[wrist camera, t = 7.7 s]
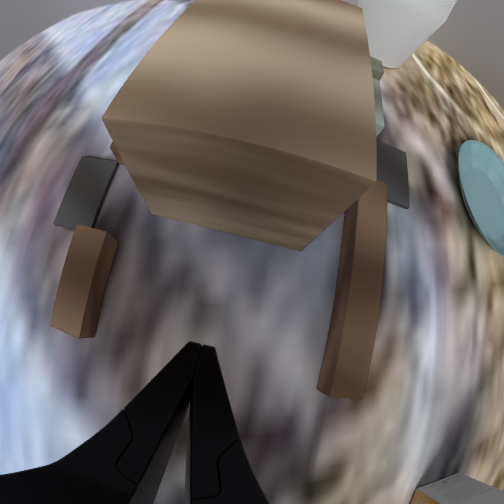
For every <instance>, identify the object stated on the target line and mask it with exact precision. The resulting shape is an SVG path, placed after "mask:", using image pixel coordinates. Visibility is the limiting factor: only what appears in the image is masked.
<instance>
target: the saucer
mask: <svg viewBox="0 0 504 504" xmlns="http://www.w3.org/2000/svg"><path fill="white" fill-rule="evenodd" d="M458 172H459V182H460V188H461V193H462V196H463V200H464V203H465V206H466V208H467V211H468V213H469V216H470V218H471V220H472V222H473V224H474V225H475V227H476V229H477V230H478V232H479V233H480V235H481V236H482V237H483V239H484V240H485V241H486V242H487V243H488V244H489V245H490V246H491V247H492V248H493V249H494V250H495V251H496V252H497V253H498V254H499V255H501V256H502V257H504V163H503V162H502V160H501V159H500V158H499V157H498V156H497V155H496V154H495V153H494V152H493V151H492V150H491V149H490V148H489V147H488V146H486V145H485V144H483V143H481V142H479V141H476V140H468V141H465V142H464V143H463V144H462V145H461V147H460V150H459V156H458Z"/></svg>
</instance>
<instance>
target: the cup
mask: <svg viewBox="0 0 504 504" xmlns="http://www.w3.org/2000/svg"><path fill="white" fill-rule="evenodd" d="M456 1H457V0H357V3H356V6H358V7H360V8H362V10H363V15H364V21H365V26H366V32H367V38H368V45H369V52H370V56H371V57H374V58H376V59H378V60H381V61H382V65H383V67H387V68H393V69H395V68H399V67H400V66H401V65H402V64H403V63H404V62H405V61H406V60H407V59H408V58H409V57H410V56H411V55H412V54H413V53H414V52H415V51H416V50H417V49H418V48H419V47H420V46H421V45H422V44H423V43H424V42H425V41H426V40H427V39H428V38H429V37H430V36H431V35H432V34H433V33H434V32H435V31H436V30H437V29H438V28H439V27H440V26H441V25H442V24H443V23H444V22H445V21H446V19H447V17H448V15H449V13H450V11H451V9H452V8H453V6H454V4H455V3H456Z"/></svg>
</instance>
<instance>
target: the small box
mask: <svg viewBox="0 0 504 504" xmlns="http://www.w3.org/2000/svg"><path fill="white" fill-rule="evenodd" d="M411 504H504V491H503V490H500V489H497V488H495V487H492V486H490V485H487V484H485V483H482V482H480V481H478V480H475V479H473V478H471V477H469V476H466V475H464V474H462V473H456V474H453V475H451V476H448V477H446V478H443V479H441V480H438V481H436V482H433V483H430V484H427V485H425V486H422V487H419V488H417V489H416V491H415V494H414V496H413V499H412V501H411Z"/></svg>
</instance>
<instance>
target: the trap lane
mask: <svg viewBox="0 0 504 504" xmlns="http://www.w3.org/2000/svg"><path fill="white" fill-rule="evenodd" d="M370 60H371V68H372V77H373V88H374V101H375V117H376V137H377V136H378V134H379V133H380V132H381V131H382V129H383V128H384V117H383V107H382V98H381V90H380V83H379V80H380V79H381V77H382V75H383V74H384V71H383V65H382V61H381V60H378V59H376V58H374V57H371V56H370ZM376 145H377V178H376V183H375V184H373V185H372V186H371V187H370V188H369V189H368V190H367V191H366V192H365V193H364V194H363V195H362V196H361V197H360V198H359V199H357V200H356V201H355V202H354V203H353V204H352V205H351V206H350V207H349V208H348V209H347V210H346V211H345V218H344V229H343V238H342V247H341V255H340V263H339V271H338V278H337V285H336V291H335V298H334V304H333V310H332V316H331V322H330V327H329V333H328V338H327V343H326V348H325V353H324V358H323V363H322V367H321V372H320V376H319V381H318V385H317V390H319V391H320V392H322V393H324V394H325V395H327V396H329V397H337V398H355V399H362V398H363V394H364V390H365V386H366V381H367V377H368V372H369V367H370V362H371V357H372V352H373V347H374V341H375V335H376V329H377V323H378V316H379V308H380V301H381V292H382V283H383V273H384V261H385V247H386V227H387V202H389V203H392V204H394V205H397V206H400V207H403V208H405V209H408V208H409V187H408V170H407V158H406V153H405V152H403V151H401V150H399V149H396V148H394V147H392V146H389V145H387V144H384V143H382V142H380V141H377V140H376ZM110 149H111V150H112V152H113V154H114V156H115V158H116V160H117V161H111V160H104V159H97V158H90V157H83V156H82V158H81V160H80V162H79V164H78V166H77V168H76V170H75V172H74V175H73V177H72V179H71V181H70V183H69V186H68V188H67V190H66V193H65V195H64V198H63V200H62V203H61V205H60V208H59V210H58V213H57V216H56V218H55V221H54V224H55V225H57V226H60V227H64V228H68V229H71V230H75V232H74V235H73V238H72V241H71V244H70V247H69V250H68V254H67V257H66V260H65V264H64V267H63V271H62V275H61V278H60V282H59V286H58V290H57V295H56V299H55V303H54V308H53V313H52V318H51V323H50V326H51V327H54V328H56V329H58V330H60V331H63V332H65V333H67V334H70V335H72V336H74V337H77V338H91V337H94V336H95V331H96V326H97V321H98V317H99V312H100V308H101V303H102V299H103V295H104V291H105V287H106V283H107V279H108V276H109V272H110V269H111V265H112V262H113V258H114V255H115V251H116V248H117V245H118V241H117V240H116V239H114V238H113V237H112V236H111V235H110V234H109V233H108V232H107V231H103V230H99V229H95V228H93V227H94V224H95V222H96V219H97V216H98V213H99V211H100V208H101V205H102V203H103V200H104V198H105V195H106V193H107V190H108V188H109V185H110V183H111V180H112V178H113V176H114V173H115V171H116V169H117V167H118V164H123V165H125V164H124V162H123V160H122V158H121V156H120V154H119V152H118V150H117V148H116V146H115V144H114V142H112V144H111V146H110Z"/></svg>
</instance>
